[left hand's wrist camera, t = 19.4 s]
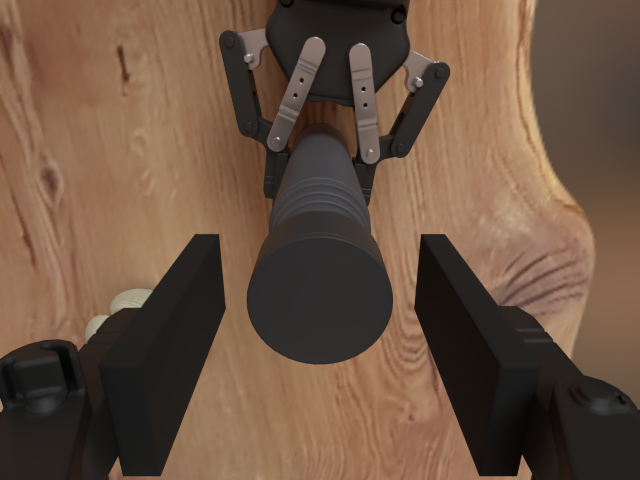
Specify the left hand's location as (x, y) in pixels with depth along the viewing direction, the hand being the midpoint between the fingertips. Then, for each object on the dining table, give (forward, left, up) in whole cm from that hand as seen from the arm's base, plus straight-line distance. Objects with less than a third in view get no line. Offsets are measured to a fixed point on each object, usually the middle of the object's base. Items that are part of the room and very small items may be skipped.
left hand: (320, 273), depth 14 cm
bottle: (0, 0, -22) cm, 22 cm away
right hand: (-1, -3, -15) cm, 16 cm away
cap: (0, 0, +2) cm, 2 cm away
